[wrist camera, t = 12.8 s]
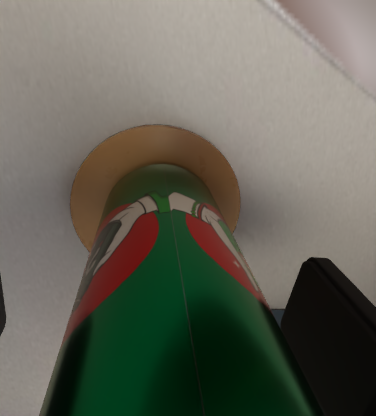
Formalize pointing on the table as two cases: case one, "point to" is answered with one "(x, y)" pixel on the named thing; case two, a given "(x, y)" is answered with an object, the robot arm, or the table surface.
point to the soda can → (172, 315)
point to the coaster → (142, 156)
